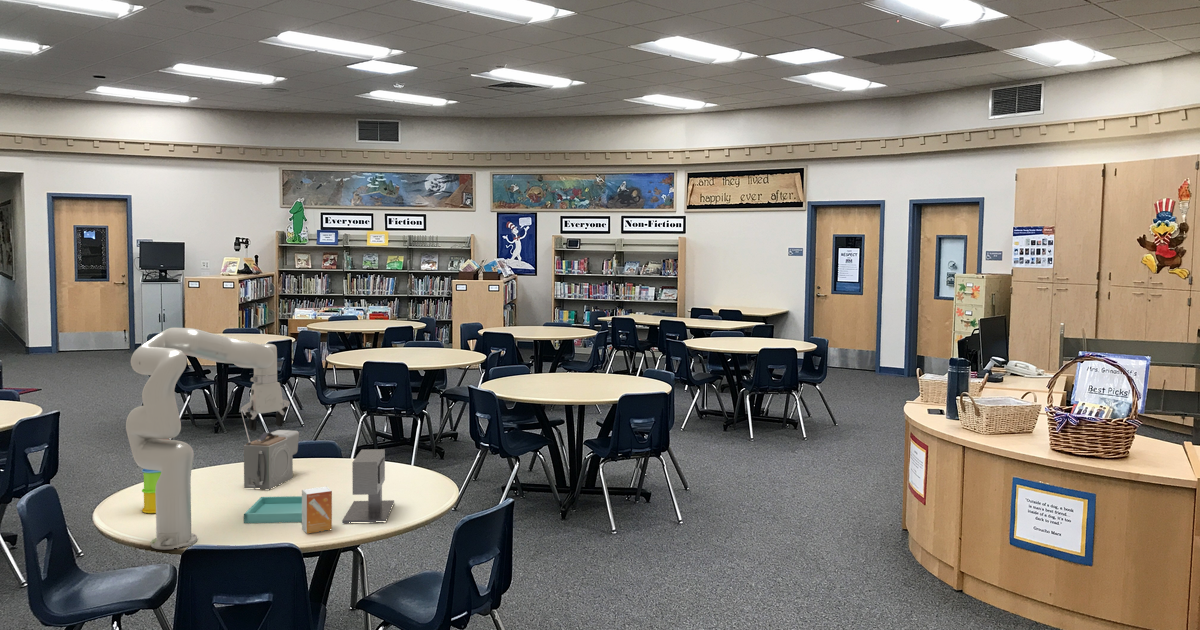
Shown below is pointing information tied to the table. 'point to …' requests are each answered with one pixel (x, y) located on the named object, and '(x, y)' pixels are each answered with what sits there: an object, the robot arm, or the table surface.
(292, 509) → the teal tray
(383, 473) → the mounted unit
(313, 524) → the small box
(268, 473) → the grey portable radio
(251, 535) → the table surface
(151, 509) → the stacking cups
